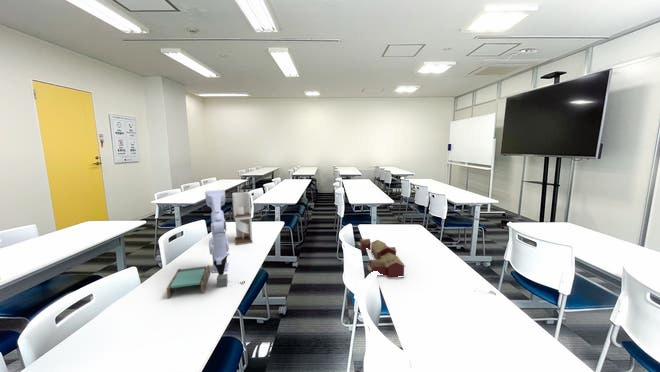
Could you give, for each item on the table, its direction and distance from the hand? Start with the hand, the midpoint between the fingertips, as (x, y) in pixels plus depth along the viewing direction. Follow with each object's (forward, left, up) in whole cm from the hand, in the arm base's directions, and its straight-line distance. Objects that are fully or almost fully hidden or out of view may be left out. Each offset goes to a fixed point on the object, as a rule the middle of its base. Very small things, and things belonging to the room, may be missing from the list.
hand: (221, 272), depth 128 cm
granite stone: (0, 0, -7) cm, 7 cm away
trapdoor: (-4, -15, -4) cm, 16 cm away
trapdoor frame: (-5, -15, -7) cm, 17 cm away
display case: (-60, +8, -7) cm, 61 cm away
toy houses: (-5, +87, -7) cm, 87 cm away
